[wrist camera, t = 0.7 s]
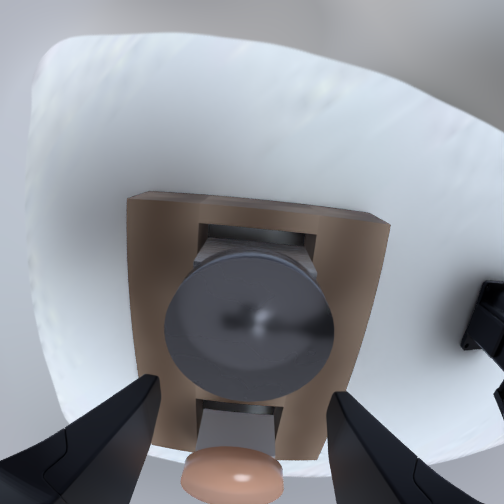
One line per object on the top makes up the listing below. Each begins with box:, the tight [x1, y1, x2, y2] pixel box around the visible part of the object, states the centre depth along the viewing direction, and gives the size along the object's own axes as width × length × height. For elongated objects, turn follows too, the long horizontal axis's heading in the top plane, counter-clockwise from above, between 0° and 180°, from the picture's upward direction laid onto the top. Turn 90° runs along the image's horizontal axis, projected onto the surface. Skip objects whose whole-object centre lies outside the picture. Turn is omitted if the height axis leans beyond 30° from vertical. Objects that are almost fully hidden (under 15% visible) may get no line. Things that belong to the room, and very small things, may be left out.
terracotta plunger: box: [181, 409, 284, 504], centre depth 17 cm, size 6×6×5 cm
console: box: [127, 191, 391, 460], centre depth 20 cm, size 14×20×4 cm
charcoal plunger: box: [164, 237, 334, 402], centre depth 14 cm, size 6×6×5 cm
